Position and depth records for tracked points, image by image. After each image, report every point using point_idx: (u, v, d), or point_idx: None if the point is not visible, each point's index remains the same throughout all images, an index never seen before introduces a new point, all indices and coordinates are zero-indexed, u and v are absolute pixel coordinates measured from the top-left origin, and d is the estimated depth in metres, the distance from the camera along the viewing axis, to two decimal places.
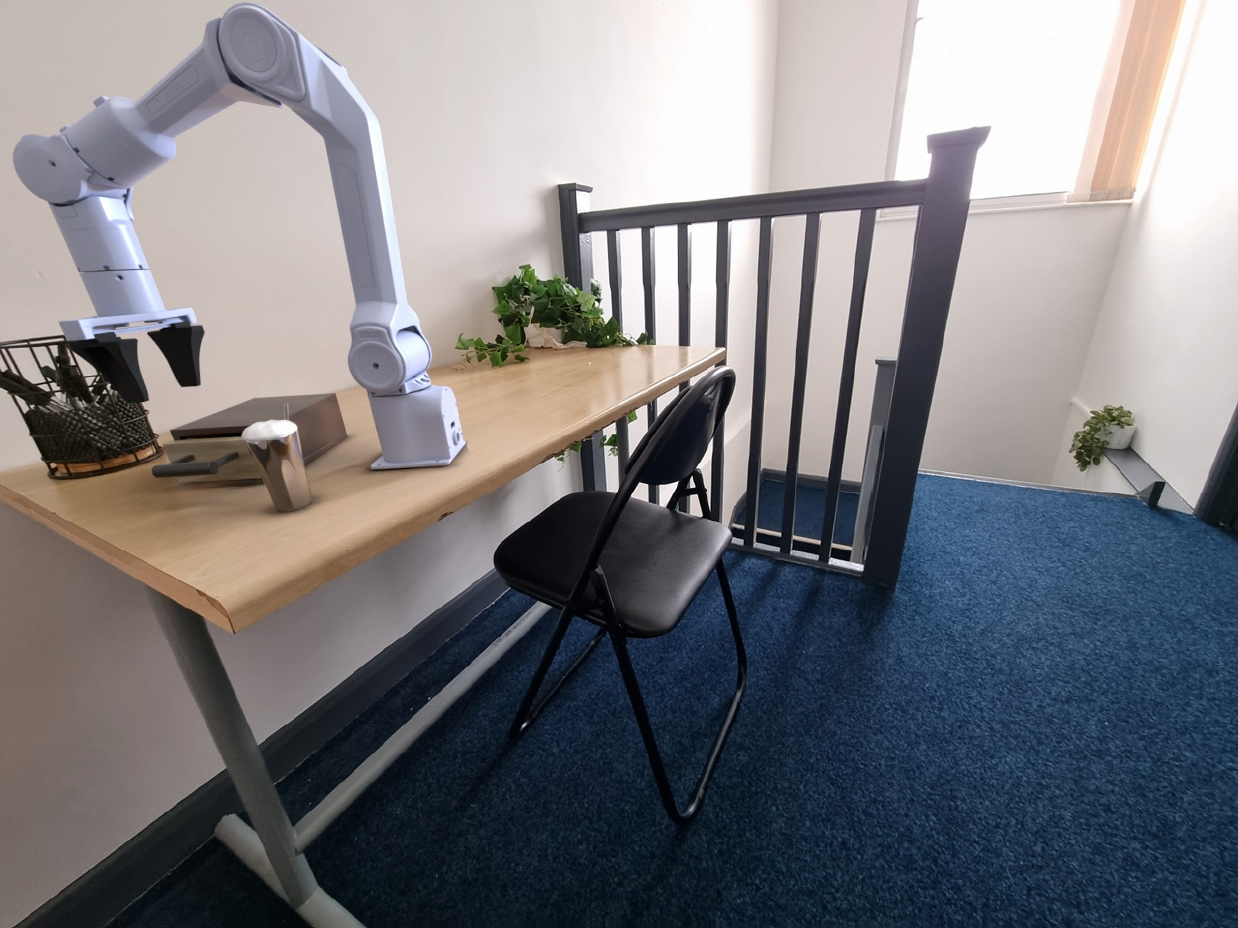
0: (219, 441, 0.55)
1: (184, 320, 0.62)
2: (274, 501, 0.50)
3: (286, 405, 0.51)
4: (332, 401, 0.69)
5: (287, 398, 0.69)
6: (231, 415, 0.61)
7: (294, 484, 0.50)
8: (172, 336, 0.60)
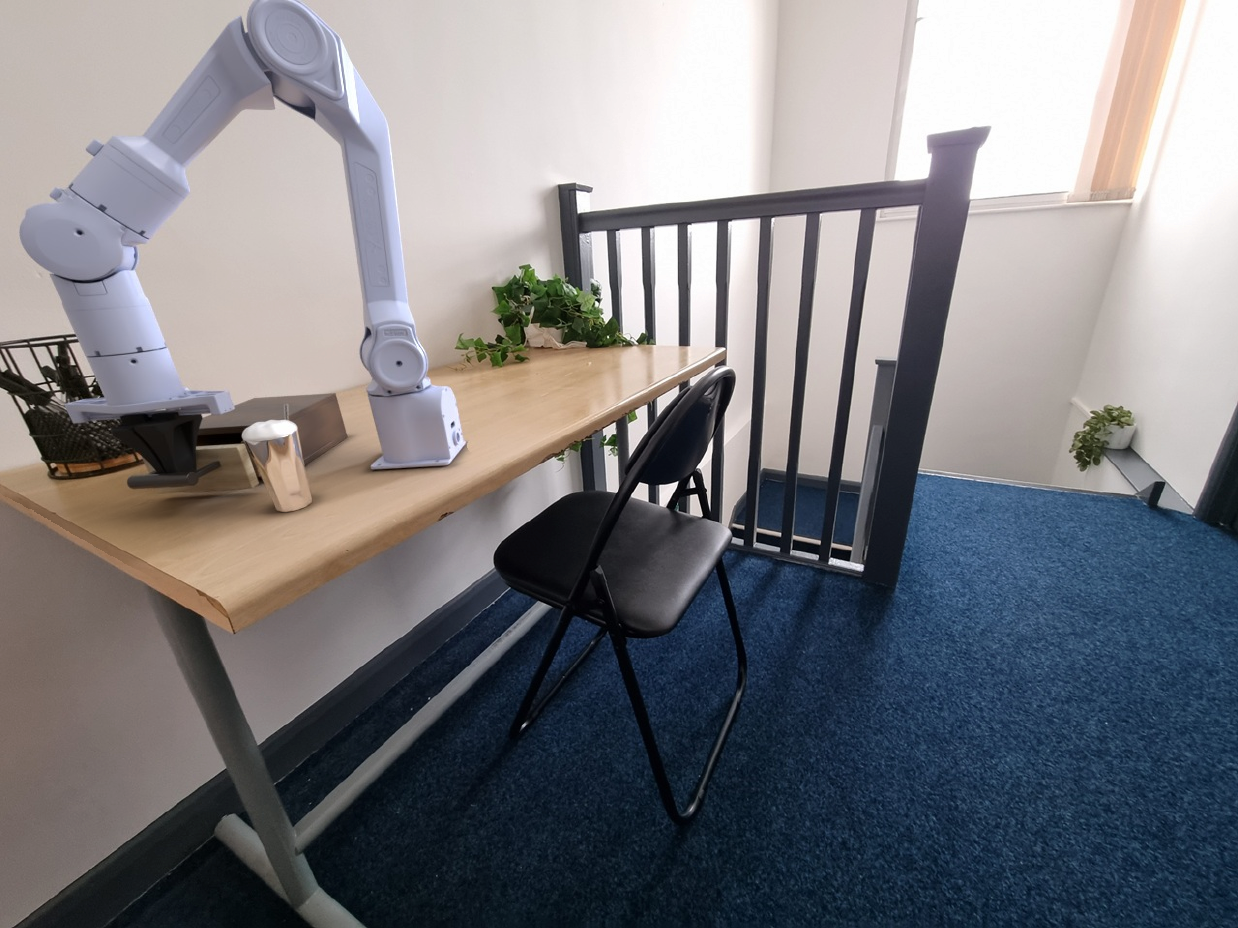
0: (200, 450, 0.52)
1: None
2: (274, 501, 0.50)
3: (286, 405, 0.51)
4: (332, 401, 0.69)
5: (287, 398, 0.69)
6: (231, 415, 0.61)
7: (294, 484, 0.50)
8: None
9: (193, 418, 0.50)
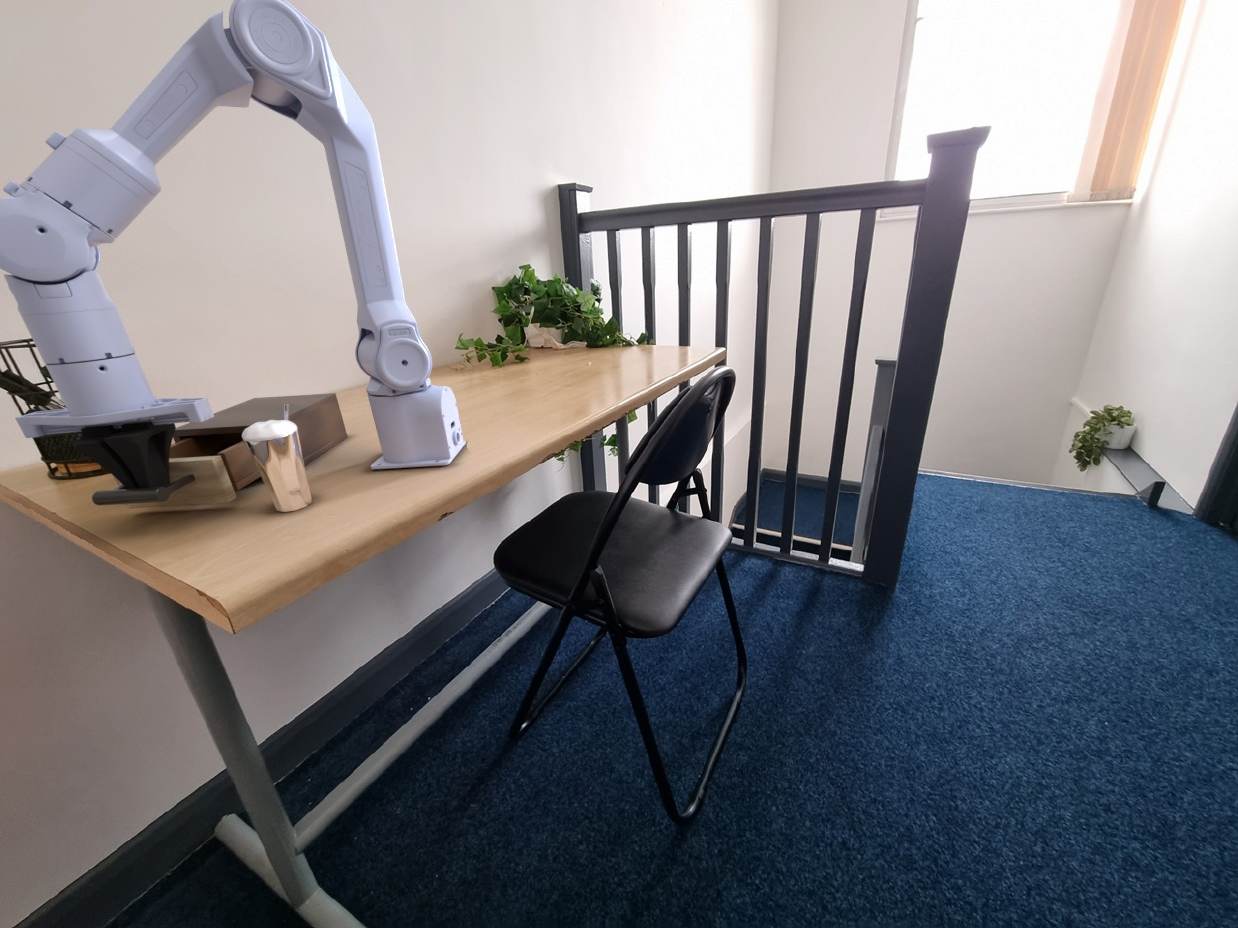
0: (172, 462, 0.49)
1: None
2: (274, 501, 0.50)
3: (286, 405, 0.51)
4: (332, 401, 0.69)
5: (287, 398, 0.69)
6: (231, 415, 0.61)
7: (294, 484, 0.50)
8: None
9: (167, 428, 0.47)
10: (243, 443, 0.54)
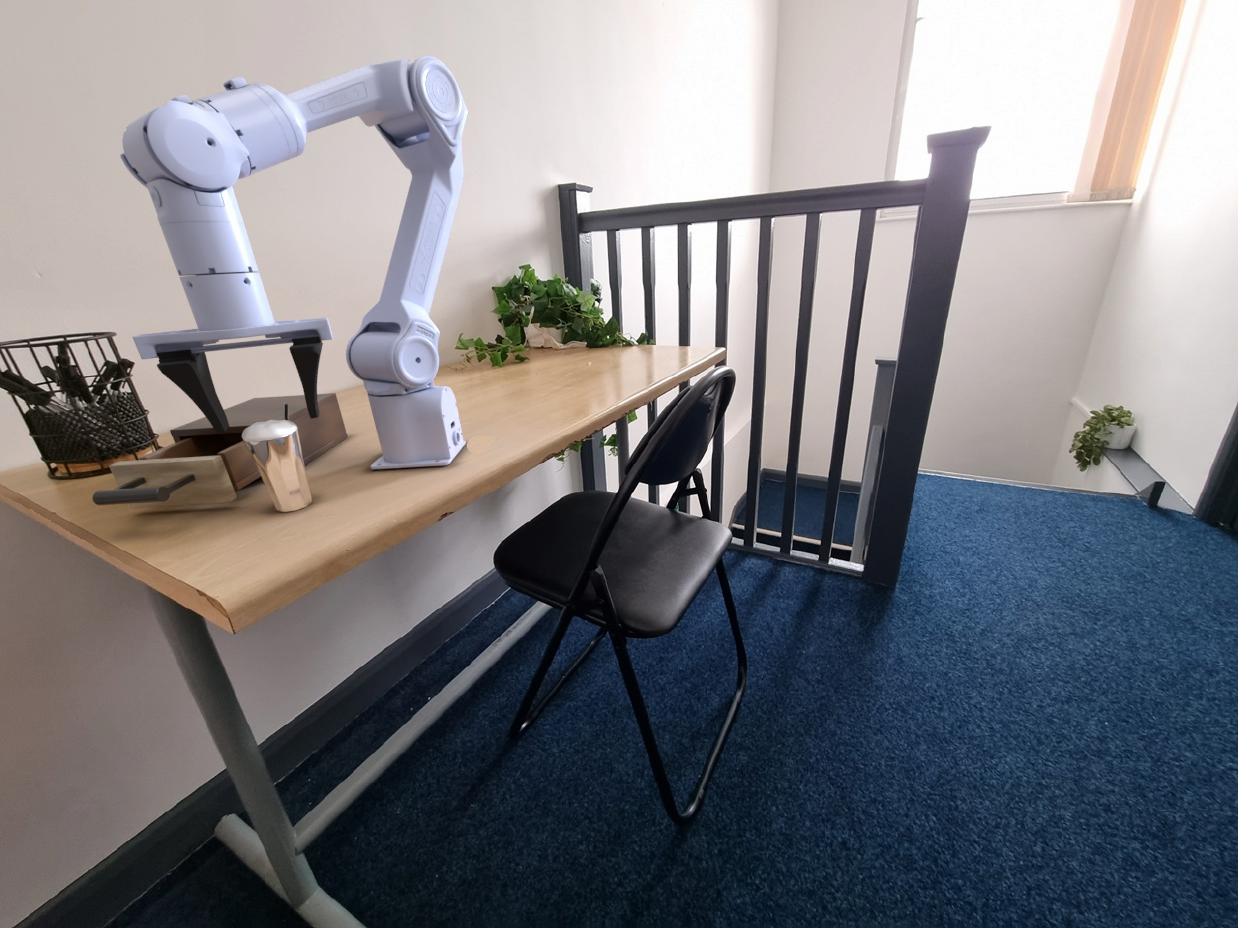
0: (172, 462, 0.49)
1: (317, 335, 0.48)
2: (274, 501, 0.50)
3: (286, 405, 0.51)
4: (332, 401, 0.69)
5: (287, 398, 0.69)
6: (231, 415, 0.61)
7: (294, 484, 0.50)
8: None
9: None
10: (243, 443, 0.54)
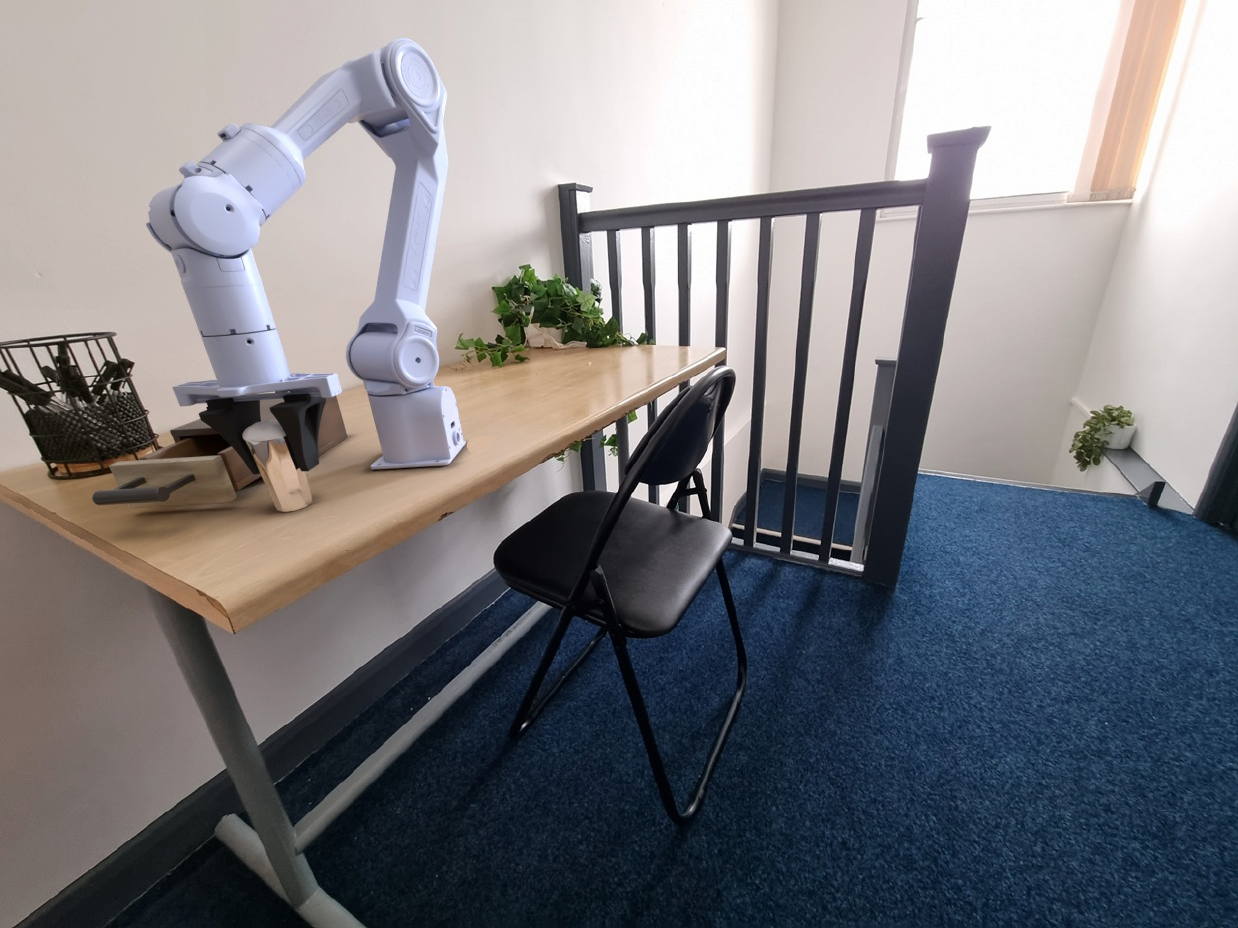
0: (172, 462, 0.49)
1: None
2: (274, 501, 0.50)
3: None
4: (332, 401, 0.69)
5: None
6: None
7: (295, 484, 0.50)
8: (244, 411, 0.48)
9: None
10: None
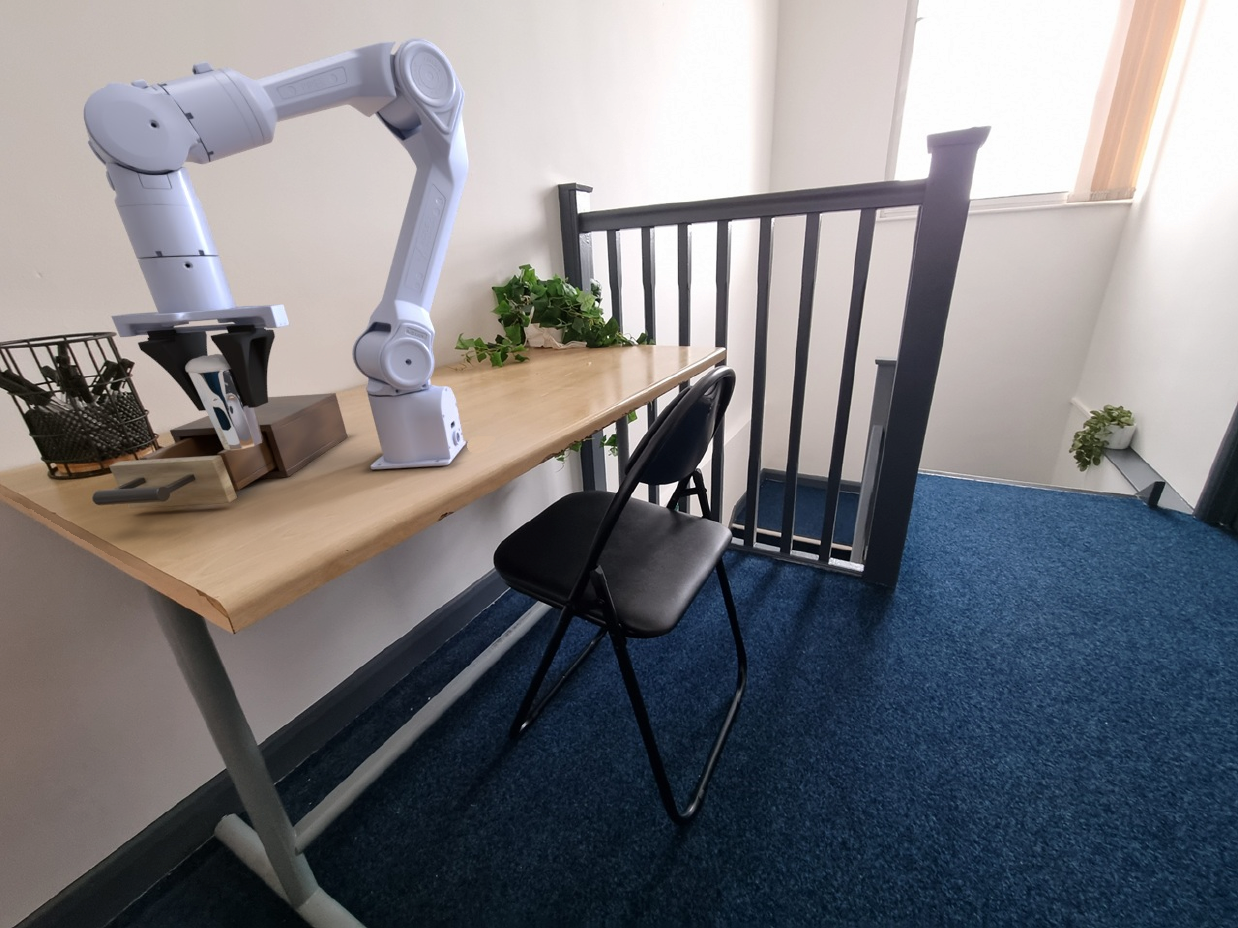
0: (172, 462, 0.49)
1: None
2: (221, 439, 0.48)
3: None
4: (332, 401, 0.69)
5: (287, 398, 0.69)
6: None
7: (242, 421, 0.48)
8: (188, 344, 0.47)
9: None
10: None
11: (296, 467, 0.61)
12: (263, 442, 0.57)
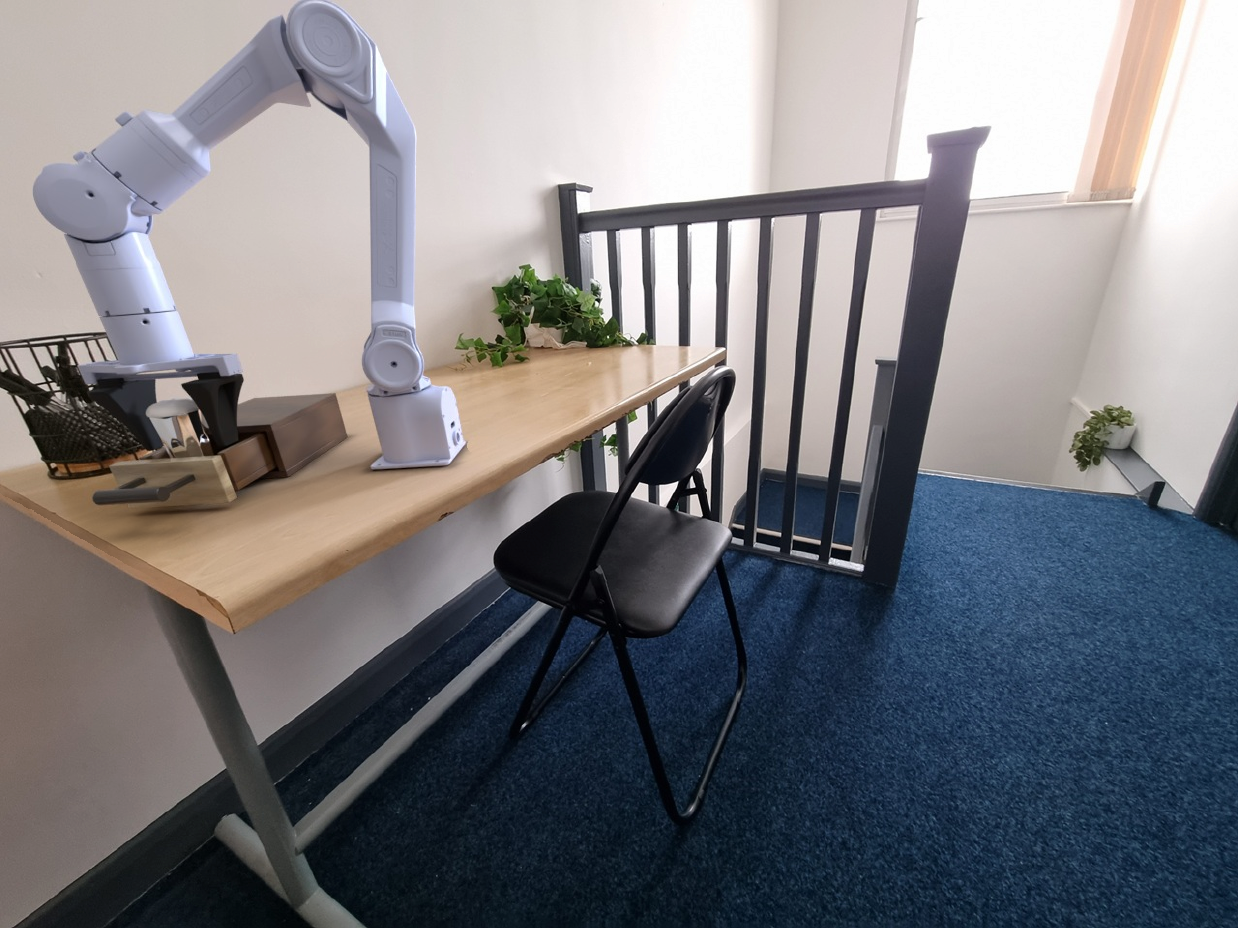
0: (172, 462, 0.49)
1: None
2: None
3: None
4: (332, 401, 0.69)
5: (287, 398, 0.69)
6: None
7: None
8: (136, 390, 0.51)
9: None
10: (243, 443, 0.54)
11: (296, 467, 0.61)
12: (263, 442, 0.57)
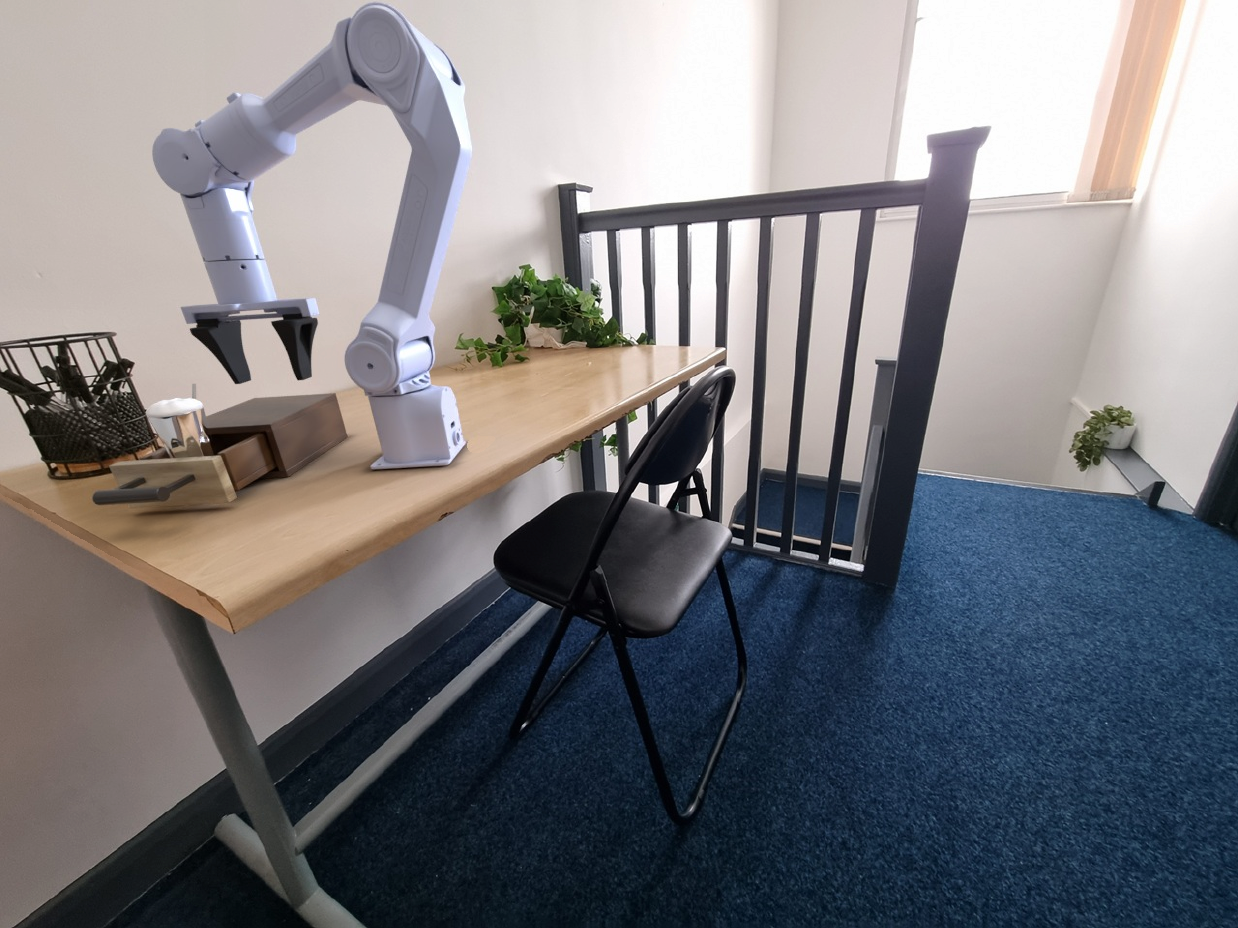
0: (172, 462, 0.49)
1: None
2: None
3: (194, 385, 0.53)
4: (332, 401, 0.69)
5: (287, 398, 0.69)
6: (231, 415, 0.61)
7: None
8: (227, 330, 0.59)
9: None
10: (243, 443, 0.54)
11: (296, 467, 0.61)
12: (263, 442, 0.57)
